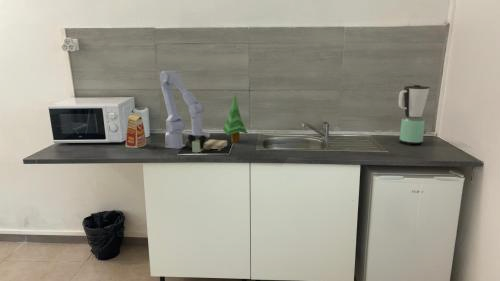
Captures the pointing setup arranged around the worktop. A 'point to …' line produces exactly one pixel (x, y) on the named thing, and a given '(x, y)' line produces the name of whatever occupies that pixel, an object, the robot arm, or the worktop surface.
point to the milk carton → (135, 132)
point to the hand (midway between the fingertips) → (197, 148)
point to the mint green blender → (413, 114)
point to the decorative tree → (234, 123)
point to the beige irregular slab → (215, 144)
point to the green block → (196, 146)
